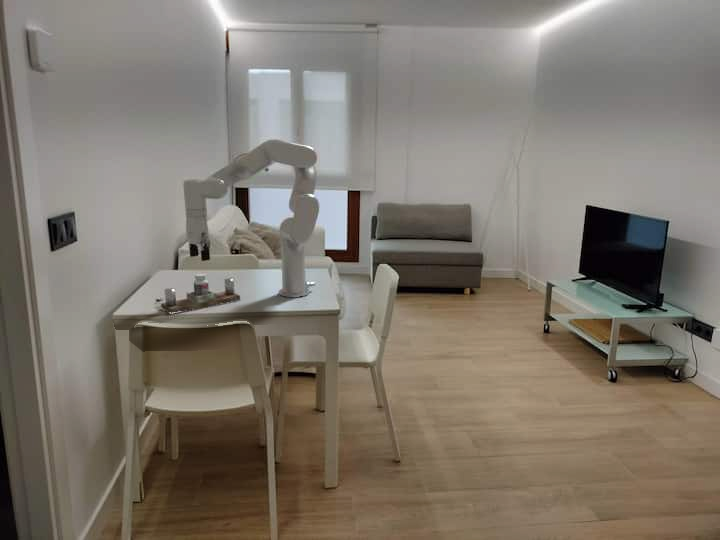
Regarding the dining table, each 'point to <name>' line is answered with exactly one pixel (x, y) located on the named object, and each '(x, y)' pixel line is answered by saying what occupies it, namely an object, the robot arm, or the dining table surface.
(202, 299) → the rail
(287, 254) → the robot arm
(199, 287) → the pill bottle
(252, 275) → the dining table surface
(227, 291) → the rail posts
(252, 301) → the dining table surface
